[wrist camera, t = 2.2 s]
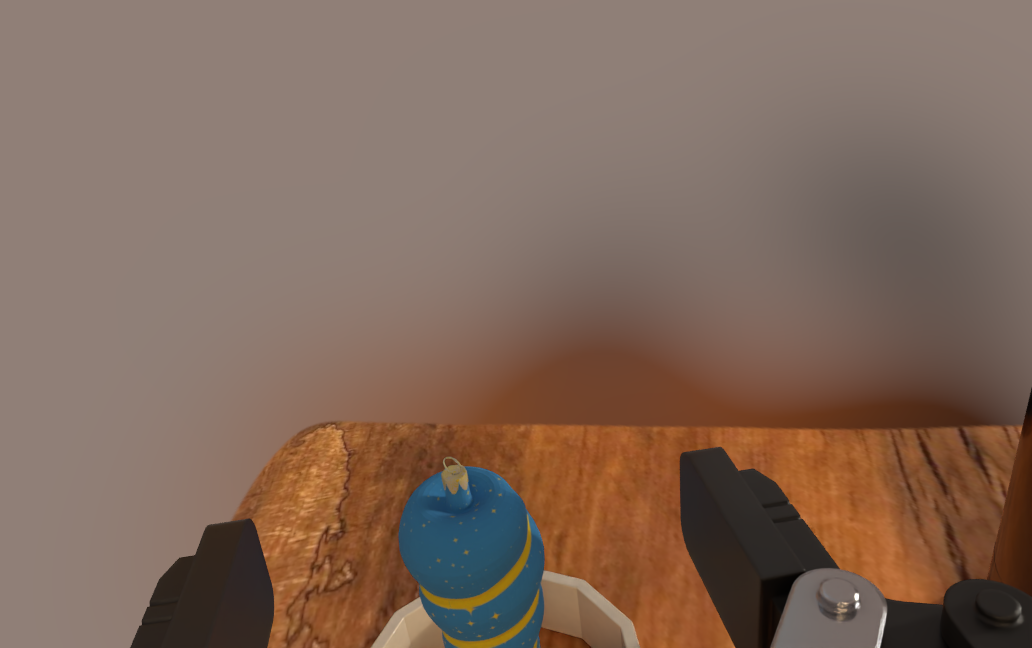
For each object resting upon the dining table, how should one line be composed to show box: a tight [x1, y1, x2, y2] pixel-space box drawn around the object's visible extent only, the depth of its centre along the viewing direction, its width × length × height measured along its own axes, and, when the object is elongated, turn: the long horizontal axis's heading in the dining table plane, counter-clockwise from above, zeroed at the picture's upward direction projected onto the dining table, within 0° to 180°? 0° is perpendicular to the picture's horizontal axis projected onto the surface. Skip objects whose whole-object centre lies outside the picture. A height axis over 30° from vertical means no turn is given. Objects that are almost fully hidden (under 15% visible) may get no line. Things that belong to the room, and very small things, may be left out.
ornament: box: [399, 457, 544, 648], centre depth 31 cm, size 5×5×15 cm
